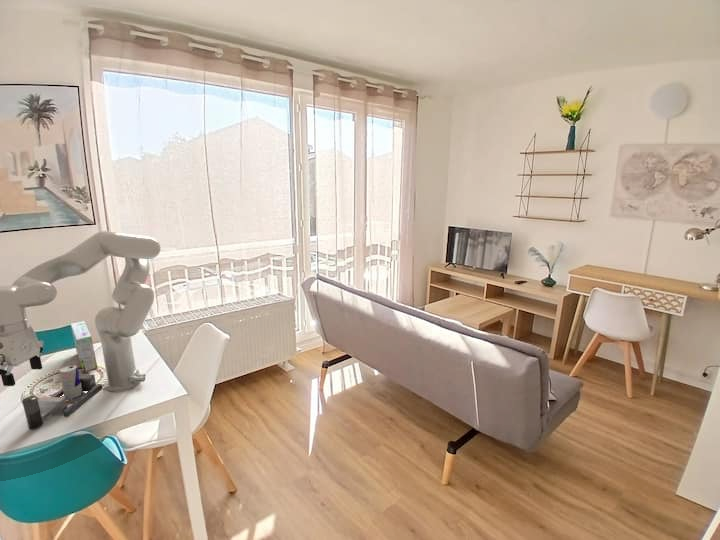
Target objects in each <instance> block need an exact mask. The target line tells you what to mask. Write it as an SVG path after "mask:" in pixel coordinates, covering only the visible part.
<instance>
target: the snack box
mask: <svg viewBox="0 0 720 540" xmlns="http://www.w3.org/2000/svg"><path fill="white" fill-rule="evenodd" d="M70 328H71V333H72V339H73V341H74V346H75V351H76V353H77V357H78V360H79V363H80V367H81V369H82V372H83V373H85V372H89V371H92V370H95V369H98V368H99V367H98V363H97V358H96V353H95V347H94V344H93V339H92V338H93V337H92V335H91V332H90V331H89V329H88V327H87V325H86V323H85V321H84V320H82V321H78V322H73V323H70Z"/></svg>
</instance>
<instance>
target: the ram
mask: <svg viewBox="0 0 720 540" xmlns="http://www.w3.org/2000/svg"><path fill="white" fill-rule="evenodd" d="M21 401H22V406H23V411H24V413H25V417H26V422H27V426H28V429H29V430H36V429H39V428H41V427H42V426H43V425H44V421H45V420H46V419H48V418H49V417H51V415H63V411H64V410H66V409H67V408H68V407H69V406H68V403H67V402H68V401H66V397H64V396H63V397H51V396H42V397H40V398H39V399H38V396H37V395H29V396H26V397H25V398H23V399H22V400H21ZM63 416H64V415H63Z"/></svg>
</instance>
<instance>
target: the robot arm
mask: <svg viewBox="0 0 720 540" xmlns="http://www.w3.org/2000/svg"><path fill="white" fill-rule="evenodd" d="M160 252H161V244H160V242H159V241H158V240H157V239H155V238H153V237H152V236H151V237H150V236H145V235H137V234H129V233H128V234H127V233H122V232H117V231H116V232H115V231H107V230H102V231H97V233H94V234H93V235H92V236H90V237H88V238H87V239H85V240H84V241H82V242H81V243H80V244H77V245H76V246H75V247H73V248H72V249H70V250H69V251H68V252H65V253H64V254H61V255H58V256H56V257H54V258H52V259H49V260H47V261H45V262H42V263H40V264H38V265H36V266H35V267H33V268H31V269H30V270H28V271H27V272H25V273H24V274H22V275H21V276H19V277H17V278H16V279H15V280H14V281H13V283H12V284H11V285H8V284H7V285H2V286H0V379H1V380H2V382H1V383H2V385H3V386H4V387H14V386H16V381H15V377H14V374H13V373H11V372H12V370H13V369H14V367H17V366H20V365H21V364H24V363H25V362H27V361H29V364H30V369H31V370H37V371H38V370H43V364H42V359H41V357H42V355H43V354H42V352H43V350H44V348H43V347H44V343H45V342H44V340H38V337H37V335H36V332H35V330H34V329H33V327H32V325H31V324H29V320H28V316H27V311H26V308H30V307H31V308H33V307H39V306H44V305H48V304H50V303H52V302H53V301H54V300H55V299H56V298H57V294H58V291H57V288H56V286H55V285H53V283H56V282H57V281H60V280H62V279H66V278H69V277H74V276H75V277H76V276H80V275H83V274H86V273H88V272H89V271H91V270H92V269H93V268H95V267H96V266H97V265H99V264H100V263H101V262H103V261H104V260H105V259H107V258H108V257H110V256H112V257H118V258H124V263H125V264H124V269H123V270H122V272H121V275H120V277H119V279H118V281H117V283H116V285H115V287H114V289H113V290H112V294H111V297H112V300H113V302H115V303H116V304H118V305H121V306H124V307H123V308H120V307H117V306H107V307H103V308H102V309H100V310H99V311H98V312H97V314H96V315H95V318H94V324H95V327H96V331H97V333H98V336H99V340H100V344H101V349H102V355H103V361H104V366H105V371H106V372H105V373H106V378H107V380H106V381H105V382H104V384H103V387H104V391H107V392H109V393H119V392H123V391H128V390H130V389H133V388H135V387H136V386H138V385H139V384H140V383H143V382H145V381H146V373H140V371H139V369H136V364H135V356H134V350H133V343H132V342H133V341H132V337H134V336H135V335H136V334H138V332H139V331H140V330H141V329H142V327H143V325H144V323H145V321H146V319H147V317H148V315H149V312H150V310H151V308H152V306H153V303H154V300H155V292H154V290H153V288H152V287H151V286H149V285H147V284H146V281H147V279H148V276H149V274H150V268H151V267H150V261H149V260H153V259H155V258H157V256H159V254H160ZM6 367H7V368H6ZM5 369H6V370H5Z"/></svg>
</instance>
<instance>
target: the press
mask: <svg viewBox="0 0 720 540" xmlns="http://www.w3.org/2000/svg"><path fill="white" fill-rule="evenodd" d="M79 376H80V381H81V386H82V391H88V392H87V393H83V396H82V397H81V398H79V399H78V400H75V401H70V402H69V401H66V402H67V404H71V405H70V406H67V407H68V408H67V409H66V410H64V411H63V417H64V418H68V417H70V416H71V415H72V414H73V413H75V412H76V411H77V410H79V408H81V407H82V406H83V405H85V404H86V403H88V402H89V400H91V398H93V397H95V396H96V394H98V393H99V392H100V391H101V390H103V384H102V383H96V382H97V381H96V378H95V374H90V373H89V374H88V373H87V374H85V373H79ZM63 394H64V392H63V387H62V388H61V389H59V390H58V391H56V392H55V393H53V395H50V397H60V396H62V395H63Z"/></svg>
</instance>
